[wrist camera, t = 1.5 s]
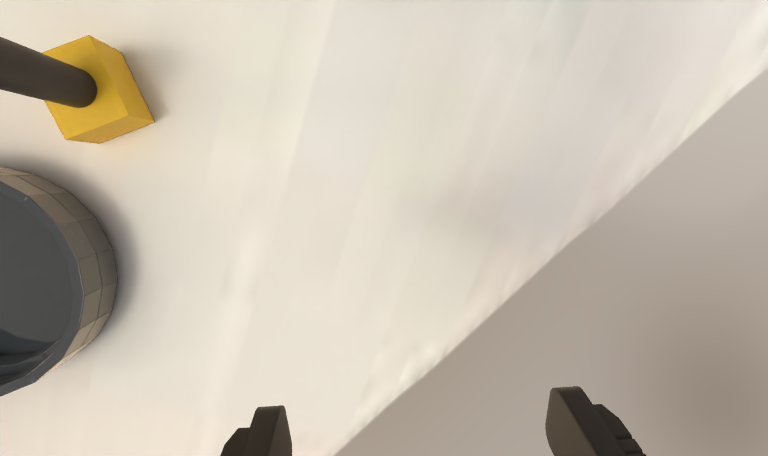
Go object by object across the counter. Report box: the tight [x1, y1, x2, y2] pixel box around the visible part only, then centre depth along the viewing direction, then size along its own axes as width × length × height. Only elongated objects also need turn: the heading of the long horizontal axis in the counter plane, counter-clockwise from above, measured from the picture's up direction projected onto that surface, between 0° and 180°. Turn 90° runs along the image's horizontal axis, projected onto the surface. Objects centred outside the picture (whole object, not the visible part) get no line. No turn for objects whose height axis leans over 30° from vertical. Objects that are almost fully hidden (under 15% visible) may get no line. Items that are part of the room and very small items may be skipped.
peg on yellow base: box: [0, 35, 154, 144], centre depth 24 cm, size 6×5×15 cm
